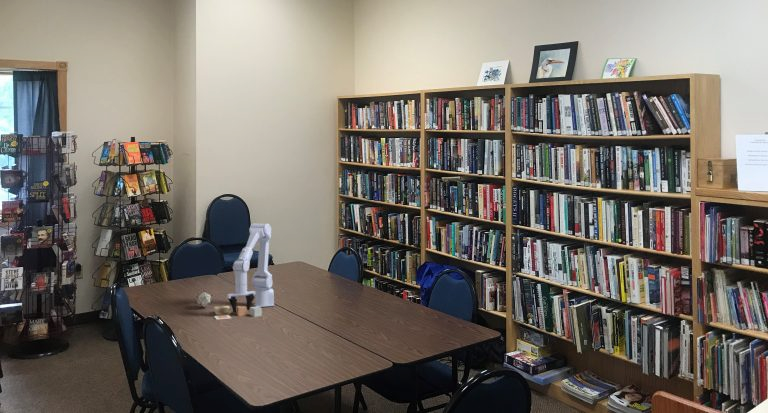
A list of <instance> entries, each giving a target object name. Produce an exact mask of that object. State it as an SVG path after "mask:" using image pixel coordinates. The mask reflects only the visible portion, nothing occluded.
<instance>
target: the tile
mask: <svg viewBox="0 0 768 413" xmlns="http://www.w3.org/2000/svg"><path fill="white" fill-rule="evenodd" d="M213 317H214V318H215V320H216V321H217V320H227V319H228V320H229V319H232V316H230V314H221V315H214V316H213Z"/></svg>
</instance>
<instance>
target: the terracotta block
mask: <svg viewBox="0 0 768 413" xmlns="http://www.w3.org/2000/svg"><path fill="white" fill-rule="evenodd" d="M247 312H248V310H247V305H246V306H245V305H236V315H237V316H239V317H241V316H247V314H248V313H247Z"/></svg>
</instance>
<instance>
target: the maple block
mask: <svg viewBox="0 0 768 413" xmlns="http://www.w3.org/2000/svg"><path fill="white" fill-rule="evenodd" d="M231 310H232V307H231V306H229V305H222V306H214V313H215V316H219V315H230V314H231V313H232V312H231Z"/></svg>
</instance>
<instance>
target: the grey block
mask: <svg viewBox="0 0 768 413" xmlns="http://www.w3.org/2000/svg"><path fill="white" fill-rule="evenodd" d="M262 309H263V308H262V307H257V306H251V307H250V310H249V316H252V317H254V318H256V317H261V316H263V313H262V312H263V310H262Z"/></svg>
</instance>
